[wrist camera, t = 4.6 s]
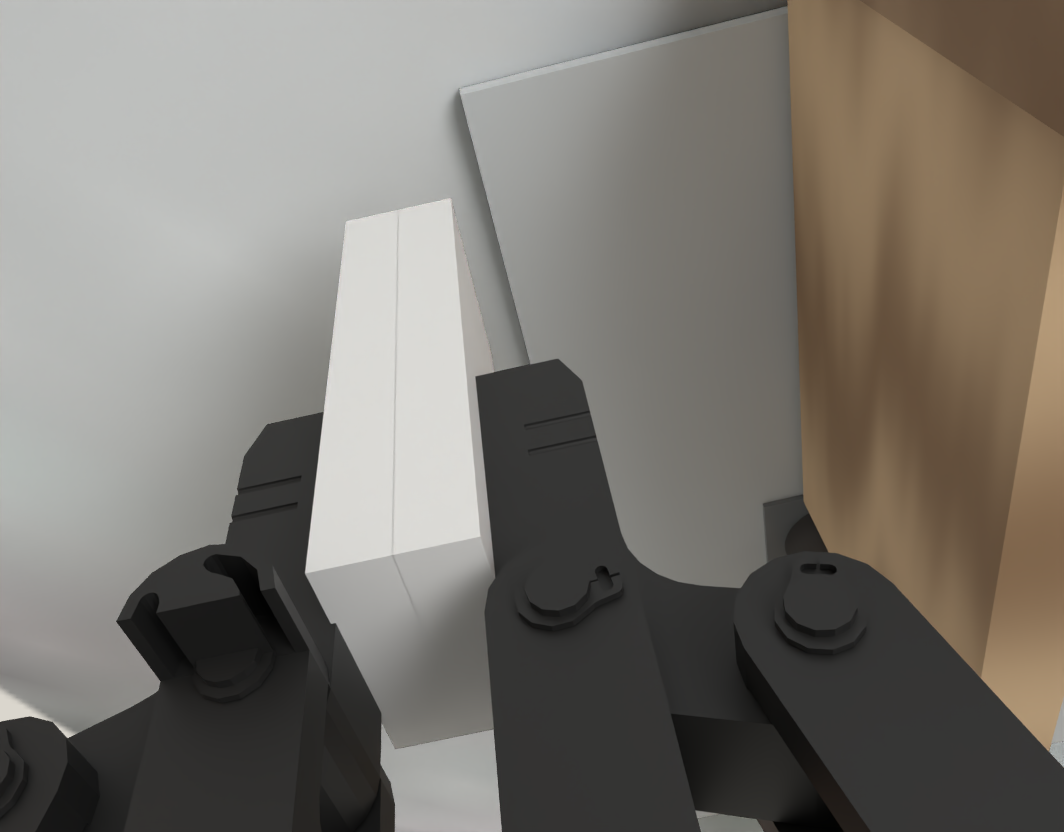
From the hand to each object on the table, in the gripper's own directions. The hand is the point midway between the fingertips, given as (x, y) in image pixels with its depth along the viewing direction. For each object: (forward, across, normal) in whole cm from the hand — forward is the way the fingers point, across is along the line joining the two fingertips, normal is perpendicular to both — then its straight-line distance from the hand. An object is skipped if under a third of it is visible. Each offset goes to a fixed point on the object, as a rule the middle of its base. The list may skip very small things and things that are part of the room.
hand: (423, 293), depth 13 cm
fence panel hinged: (+2, -7, +2) cm, 7 cm away
